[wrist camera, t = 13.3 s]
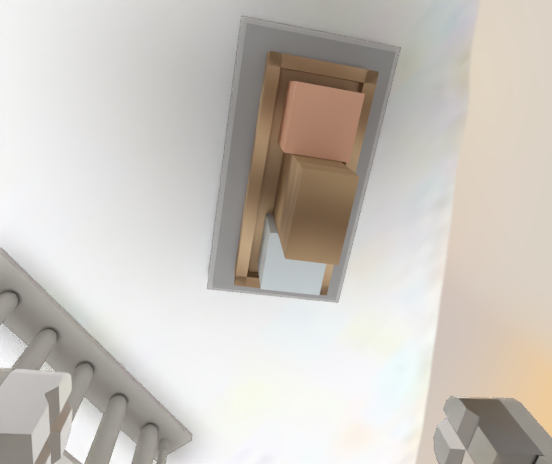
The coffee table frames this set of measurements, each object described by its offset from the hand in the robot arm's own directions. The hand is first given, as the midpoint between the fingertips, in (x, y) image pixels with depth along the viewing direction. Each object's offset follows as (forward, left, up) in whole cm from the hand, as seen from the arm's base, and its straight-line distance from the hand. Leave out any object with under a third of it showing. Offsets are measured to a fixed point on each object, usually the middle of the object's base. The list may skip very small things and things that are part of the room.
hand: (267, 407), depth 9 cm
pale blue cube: (+4, +4, -22) cm, 22 cm away
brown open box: (0, +4, -23) cm, 23 cm away
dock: (0, +4, -26) cm, 26 cm away
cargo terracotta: (-5, +4, -22) cm, 22 cm away
